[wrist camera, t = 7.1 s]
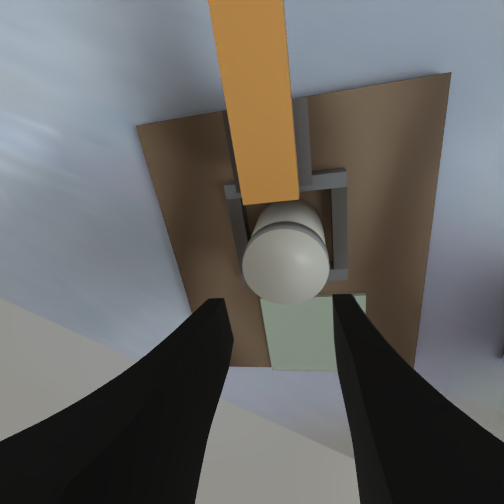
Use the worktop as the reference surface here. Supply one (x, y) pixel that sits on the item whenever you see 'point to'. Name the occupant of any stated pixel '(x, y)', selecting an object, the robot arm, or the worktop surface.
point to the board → (313, 203)
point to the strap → (257, 96)
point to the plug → (287, 253)
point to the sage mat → (303, 333)
